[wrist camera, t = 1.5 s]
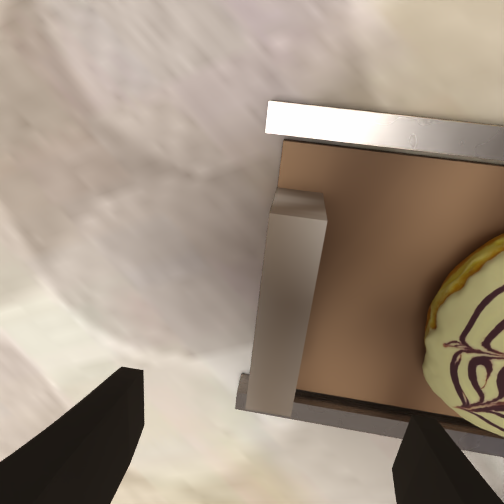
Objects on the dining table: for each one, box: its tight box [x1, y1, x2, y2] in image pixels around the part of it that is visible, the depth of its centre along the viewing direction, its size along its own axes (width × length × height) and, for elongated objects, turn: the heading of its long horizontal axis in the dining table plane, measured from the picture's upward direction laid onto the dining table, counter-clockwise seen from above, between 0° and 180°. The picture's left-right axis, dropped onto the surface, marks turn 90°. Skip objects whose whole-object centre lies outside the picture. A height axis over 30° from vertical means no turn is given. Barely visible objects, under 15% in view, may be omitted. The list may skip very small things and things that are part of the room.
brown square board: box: [245, 139, 504, 418], centre depth 16 cm, size 18×13×5 cm
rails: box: [235, 100, 504, 457], centre depth 18 cm, size 16×21×2 cm
